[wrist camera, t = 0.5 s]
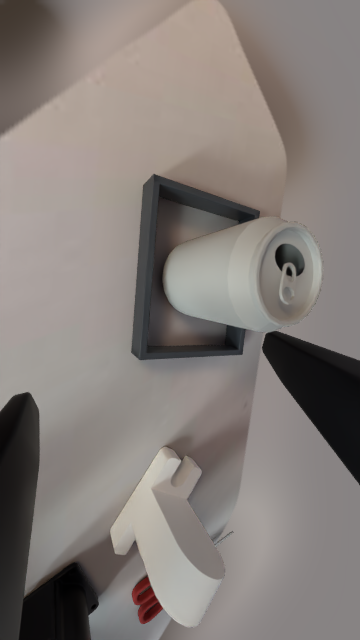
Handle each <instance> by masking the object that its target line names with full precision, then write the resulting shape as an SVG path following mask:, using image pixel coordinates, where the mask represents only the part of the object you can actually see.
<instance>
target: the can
mask: <svg viewBox="0 0 360 640" xmlns="http://www.w3.org/2000/svg"><path fill="white" fill-rule="evenodd" d="M162 281H163V287H164V292H165V294H166V296H167V298H168V301H169V302H170V303H171V304H172V306H173V307H174V308H175V309H176V310H177V311H179V312H181V313H183V314H185V315H188V316H193V317H197V318H201V319H205V320H210V321H214V322H218V323H222V324H227V325H231V326H235V327H239V328H244V329H248V330H252V331H256V332H272V331H275V330H277V329H281V328H282V327H283V326H284V327H289V326H292V325H295V324H298V323H299V322H300V321H302V320H303V319H304V318H305V317H306V316H307V315H308V314H309V313H310V311H311V310H312V308H313V307H314V305H315V304H316V301H317V299H318V296H319V294H320V291H321V286H322V281H323V259H322V254H321V249H320V246H319V244H318V242H317V240H316V238H315V236H314V235H313V234H312V233H311V231H310V230H309V229H308V228H307V227H306V226H304V225H302V224H300V223H297V222H287V221H285V220H283V219H281V218H278V217H276V216H274V217H261V218H258V219H255V220H252V221H249V222H245V223H242V224H239V225H236V226H233V227H230V228H227V229H223V230H220V231H217V232H214V233H211V234H208V235H205V236H202V237H198V238H195V239H192V240H189V241H186V242H184V243H182V244H180V245H178V246H177V247H176V248H175V249H174V250H173V251H172V252H171V253H170V254H169V256H168V258H167V260H166V262H165V265H164V269H163V276H162Z"/></svg>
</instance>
